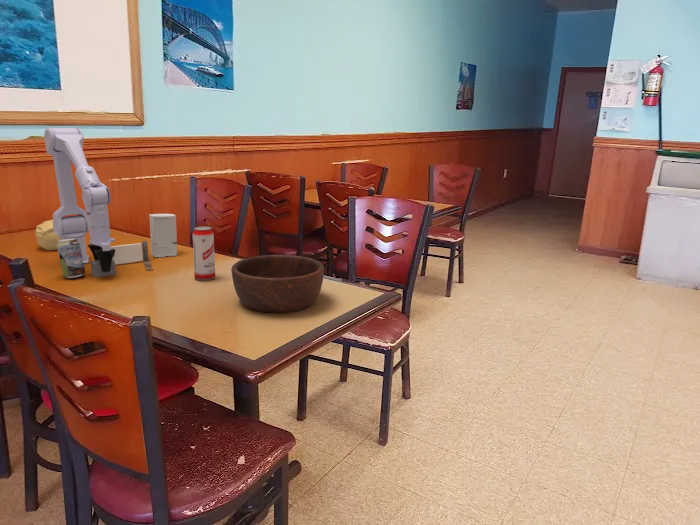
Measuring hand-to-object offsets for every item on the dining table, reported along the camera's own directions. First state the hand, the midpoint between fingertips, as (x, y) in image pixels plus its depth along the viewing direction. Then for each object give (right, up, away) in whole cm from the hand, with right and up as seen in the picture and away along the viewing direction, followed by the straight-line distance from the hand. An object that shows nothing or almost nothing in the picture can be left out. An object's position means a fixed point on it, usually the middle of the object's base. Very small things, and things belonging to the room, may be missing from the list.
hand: (103, 268), depth 165 cm
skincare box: (+10, +4, +26) cm, 28 cm away
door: (+2, +2, +13) cm, 13 cm away
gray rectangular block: (0, -2, +1) cm, 2 cm away
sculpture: (-32, +7, +30) cm, 44 cm away
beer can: (+32, -3, 0) cm, 32 cm away
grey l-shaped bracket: (+9, +1, +14) cm, 16 cm away
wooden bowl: (+57, -9, -19) cm, 61 cm away
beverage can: (-8, -3, -3) cm, 9 cm away
